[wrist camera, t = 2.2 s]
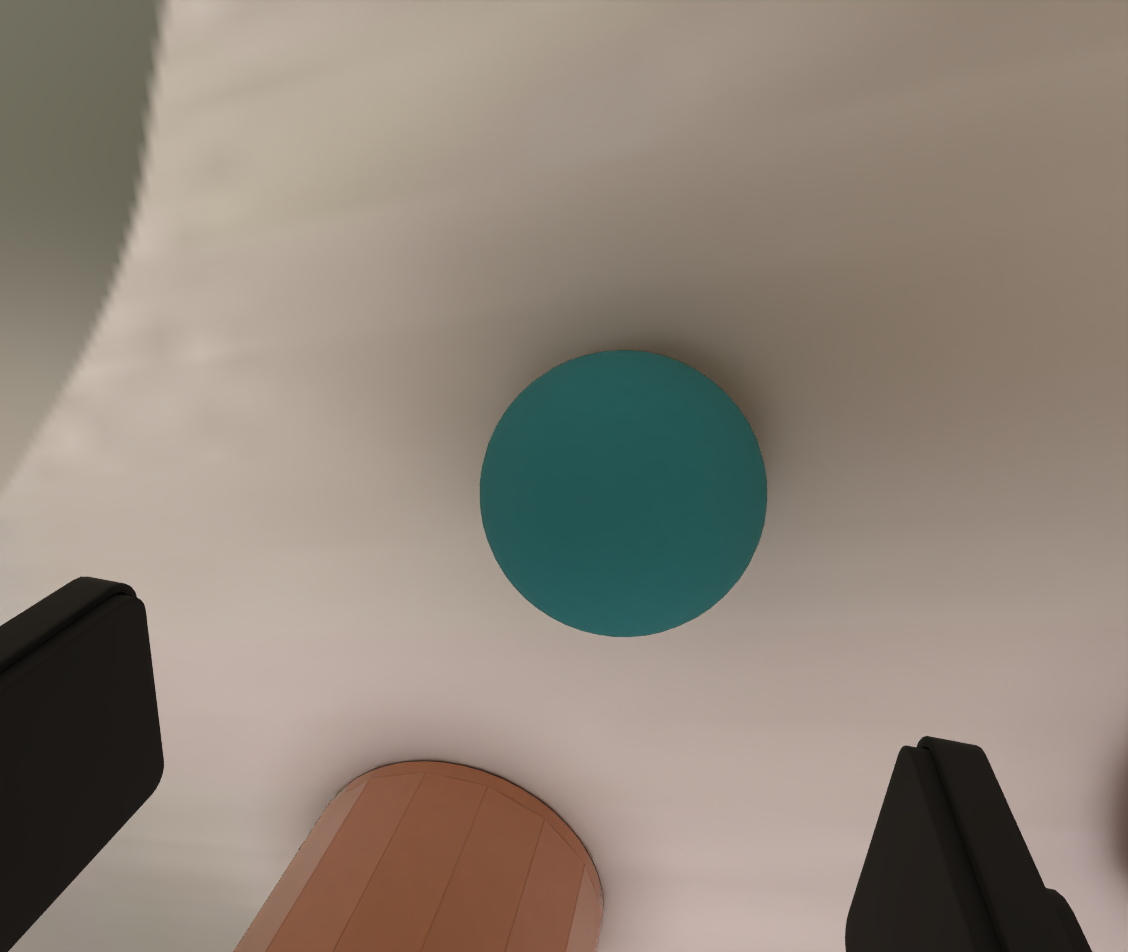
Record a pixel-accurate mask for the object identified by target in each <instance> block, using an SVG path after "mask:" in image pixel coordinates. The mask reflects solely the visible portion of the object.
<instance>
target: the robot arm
mask: <svg viewBox="0 0 1128 952" xmlns="http://www.w3.org/2000/svg"><path fill="white" fill-rule="evenodd" d="M163 769H164V758H163V750H162V742H161V733H160V725H159V717H158V709H157V700H156V692H155V684H154V675H153V667H152V659H151V651H150V642H149V634H148V626H147V617H146V610H145V606H144V603H143V602H142V601H141V600H140V599H138V598H137V597H136V593H135V591H134V590H133V588H132V587H131V586H129V585H127V584H124V583H119V582H113V581H108V580H103V579H97V578H92V577H80V578H77V579H75V580H73V581H71V582H70V583H68V584H66V585H65V586H63V587H62V588H60V589H58V590H57V591H55V592H54V593H52V594H50V595H49V596H47V597H46V598H44V599H43V600H41V601H39V602H38V603H36V604H35V605H33V606H31V607H30V608H28V609H27V610H25V611H24V612H22V613H20V614H19V615H17V616H16V617H14V618H12V619H11V620H9V621H8V622H6V623H5V624H3V625H1V626H0V952H8V951H9V950H10V949H11V948H12V947H13V946H14V945H15V943H16V942H17V941H18V940H19V939H20V938H21V937H22V936H23V935H24V934H25V932H26V931H27V930H28V929H29V928H30V927H31V926H32V925H33V924H34V923H35V922H36V920H37V919H38V918H39V917H40V916H41V915H42V914H43V913H44V912H45V911H46V910H47V908H48V907H49V906H50V905H51V904H52V903H53V902H54V901H55V900H56V899H57V898H58V896H59V895H60V894H61V893H62V892H63V891H64V890H65V889H66V888H67V887H68V885H69V884H70V883H71V882H72V881H73V880H74V879H75V878H76V877H77V876H78V875H79V873H80V872H81V871H82V870H83V869H84V868H85V867H86V866H87V865H88V864H89V863H90V861H91V860H92V859H93V858H94V857H95V856H96V855H97V854H98V853H99V852H100V851H101V849H102V848H103V847H104V846H105V845H106V844H107V843H108V842H109V841H110V840H111V838H112V837H113V836H114V835H115V834H116V833H117V832H118V831H119V830H120V829H121V828H122V826H123V825H124V824H125V823H126V822H127V821H128V820H129V819H130V818H131V817H132V816H133V814H134V813H135V812H136V811H137V810H138V809H139V808H140V807H141V806H142V805H143V803H144V802H145V801H146V800H147V799H148V798H149V797H150V796H151V795H152V793H153V792H154V791H155V789H156V788H157V786H158V784H159V782H160V780H161V777H162V774H163ZM845 946H846V952H1092V951H1091V948H1090V946H1089V944H1088V942H1087V940H1086V938H1085V936H1084V934H1083V932H1082V929H1081V927H1080V925H1079V923H1078V921H1077V919H1076V917H1075V915H1074V913H1073V911H1072V909H1071V908H1070V906H1069V904H1068V903H1067V901H1066V900H1065V898H1064V897H1063V896H1062V895H1060V894H1059V893H1058V892H1057V891H1056V890H1053V889H1048V888H1045V886H1044V883H1043V881H1042V879H1041V877H1040V875H1039V872H1038V870H1037V868H1036V866H1035V863H1034V861H1033V859H1032V857H1031V854H1030V852H1029V850H1028V848H1027V846H1026V843H1025V841H1024V839H1023V837H1022V834H1021V832H1020V830H1019V828H1018V826H1017V823H1016V821H1015V819H1014V817H1013V814H1012V812H1011V810H1010V808H1009V806H1008V803H1007V801H1006V799H1005V797H1004V794H1003V792H1002V790H1001V788H1000V785H999V783H998V781H997V779H996V777H995V774H994V772H993V770H992V768H991V765H990V763H989V761H988V759H987V757H986V755H985V753H984V751H983V750H982V748H980V747H978V746H977V745H971V744H966V743H961V742H956V741H950V740H945V739H940V738H935V737H929V736H925V737H922V739H921V740H920V741H919V742H918V745H917V747H911V746H903V747H902V748H901V750H900V752H899V754H898V757H897V760H896V764H895V767H894V770H893V773H892V776H891V779H890V783H889V786H888V789H887V792H886V795H885V799H884V802H883V805H882V808H881V811H880V814H879V818H878V821H877V824H876V827H875V830H874V834H873V837H872V840H871V843H870V846H869V849H868V853H867V856H866V859H865V862H864V865H863V869H862V872H861V875H860V878H859V881H858V884H857V888H856V891H855V894H854V897H853V900H852V904H851V907H850V910H849V913H848V917H847V923H846V933H845Z"/></svg>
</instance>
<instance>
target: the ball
mask: <svg viewBox="0 0 1128 952" xmlns="http://www.w3.org/2000/svg"><path fill="white" fill-rule="evenodd" d="M766 507H767V479H766V472H765V466H764V462H763V458H762V455H761V452H760V448H759V445H758V442H757V439H756V437H755V435H754V433H753V431H752V429H751V427H750V424H749V423H748V421H747V420H746V418H745V417H744V415H743V413H742V412H741V410H740V409H739V408H738V406H737V405H736V404H735V403H734V402H733V401H732V400H731V398H730V397H729V396H728V395H727V394H726V393H725V392H724V391H723V390H722V389H721V388H720V387H718V386H717V385H716V384H715V383H714V382H713V381H712V380H711V379H709V378H708V377H706V376H705V375H703V374H702V373H700V372H699V371H697V370H696V369H694V368H692V367H690V366H688V365H686V364H684V363H682V362H680V361H677V360H674V359H671V358H668V357H665V356H662V355H658V354H653V353H649V352H644V351H630V350H619V351H604V352H599V353H594V354H588V355H584V356H581V357H578V358H575V359H572V360H569V361H567V362H565V363H563V364H561V365H559V366H557V367H555V368H553V369H551V370H550V371H548V372H547V373H545V374H544V375H542V376H541V377H539V378H538V379H536V380H535V381H534V382H532V383H531V384H530V385H529V386H528V387H527V388H526V389H525V390H523V391H522V392H521V393H520V394H519V395H518V396H517V398H516V399H515V400H514V401H513V402H512V404H511V405H510V406H509V407H508V409H507V410H506V412H505V413H504V415H503V416H502V418H501V420H500V421H499V423H498V425H497V426H496V428H495V430H494V432H493V434H492V437H491V439H490V441H489V444H488V447H487V451H486V454H485V458H484V462H483V466H482V471H481V479H480V508H481V515H482V522H483V526H484V530H485V533H486V537H487V540H488V543H489V545H490V547H491V550H492V552H493V554H494V556H495V559H496V561H497V562H498V564H499V566H500V567H501V569H502V571H503V573H504V574H505V575H506V577H507V578H508V579H509V581H510V582H511V583H512V585H513V586H514V587H515V588H516V589H517V590H518V591H519V592H520V593H521V594H522V595H523V597H524V598H526V599H527V600H528V601H529V602H530V603H532V604H533V605H534V606H535V607H536V608H538V609H539V610H541V611H542V612H544V613H545V614H547V615H548V616H550V617H551V618H553V619H555V620H557V621H559V622H561V623H563V624H565V625H568V626H571V627H573V628H576V629H579V630H581V631H585V632H589V633H593V634H598V635H605V636H612V637H635V636H646V635H650V634H655V633H660V632H663V631H666V630H669V629H672V628H675V627H678V626H680V625H682V624H684V623H686V622H688V621H690V620H692V619H694V618H696V617H698V616H699V615H701V614H702V613H704V612H705V611H707V610H708V609H710V608H711V607H712V606H714V605H715V604H716V603H717V602H718V601H719V600H720V599H721V598H723V597H724V596H725V595H726V594H727V593H728V592H729V590H730V589H731V588H732V587H733V586H734V585H735V583H736V582H737V581H738V580H739V579H740V577H741V576H742V574H743V573H744V571H745V569H746V568H747V566H748V565H749V563H750V561H751V558H752V556H753V554H754V552H755V550H756V547H757V545H758V543H759V541H760V537H761V534H762V530H763V527H764V522H765V514H766Z"/></svg>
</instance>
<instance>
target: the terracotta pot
mask: <svg viewBox="0 0 1128 952" xmlns="http://www.w3.org/2000/svg"><path fill="white" fill-rule="evenodd" d="M602 915H603V898H602V890H601V886H600V882H599V878H598V875H597V872H596V869H595V867H594V865H593V863H592V860H591V858H590V856H589V854H588V853H587V851H586V849H585V848H584V846H583V845H582V843H581V841H580V840H579V839H578V838H577V836H576V835H575V834H574V833H573V831H572V830H571V829H570V828H569V826H568V825H567V824H566V823H565V822H564V821H563V820H562V819H561V818H560V817H559V816H558V815H557V814H556V813H555V812H553V811H552V810H551V809H550V808H548V807H547V806H546V805H545V804H543V803H542V802H541V801H540V800H538V799H537V798H535V797H534V796H532V795H531V794H529V793H528V792H526V791H524V790H523V789H521V788H519V787H517V786H516V785H514V784H512V783H510V782H508V781H506V780H504V779H502V778H499V777H497V776H494V775H491V774H489V773H486V772H484V771H481V770H477V769H473V768H470V767H466V766H462V765H457V764H451V763H445V762H432V761H415V762H403V763H397V764H392V765H387V766H384V767H381V768H378V769H375V770H372V771H370V772H368V773H366V774H364V775H362V776H360V777H358V778H356V779H355V780H354V781H352V782H351V783H349V784H348V785H347V786H345V787H344V788H343V789H342V790H341V791H340V792H339V793H338V794H337V795H336V796H335V798H334V799H333V801H331V802H330V803H329V804H328V806H327V807H326V809H325V810H324V812H323V813H322V815H321V816H320V818H319V819H318V821H317V823H316V824H315V826H314V827H313V829H312V830H311V832H310V833H309V835H308V837H307V838H306V840H305V841H304V843H303V844H302V846H301V847H300V849H299V851H298V852H297V854H296V855H295V857H294V858H293V860H292V861H291V863H290V865H289V866H288V868H287V869H286V871H285V872H284V874H283V875H282V877H281V878H280V880H279V882H278V883H277V885H276V886H275V888H274V889H273V891H272V892H271V894H270V896H269V897H268V899H267V900H266V902H265V903H264V905H263V906H262V908H261V910H260V911H259V913H258V914H257V916H256V917H255V919H254V920H253V922H252V924H251V925H250V927H249V928H248V930H247V931H246V933H245V934H244V936H243V937H242V939H241V941H240V942H239V944H238V945H237V947H236V948H235V950H234V951H233V952H597V947H598V940H599V934H600V928H601V923H602Z"/></svg>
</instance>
